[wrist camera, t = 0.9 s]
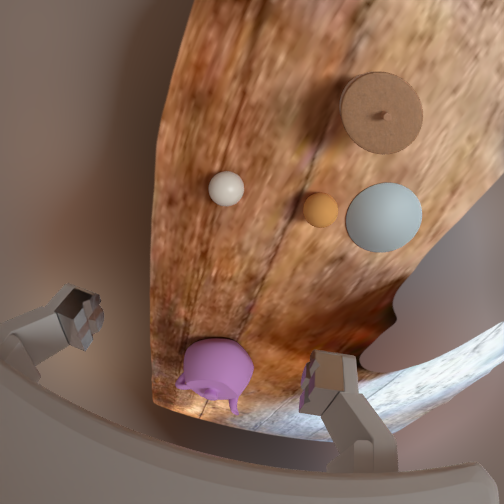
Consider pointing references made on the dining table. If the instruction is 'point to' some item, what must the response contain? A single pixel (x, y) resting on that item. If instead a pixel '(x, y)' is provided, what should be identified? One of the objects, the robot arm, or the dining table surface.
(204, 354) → the teapot
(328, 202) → the object ball
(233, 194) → the cue ball
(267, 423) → the dining table surface
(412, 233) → the gray disc
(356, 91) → the lidded jar
